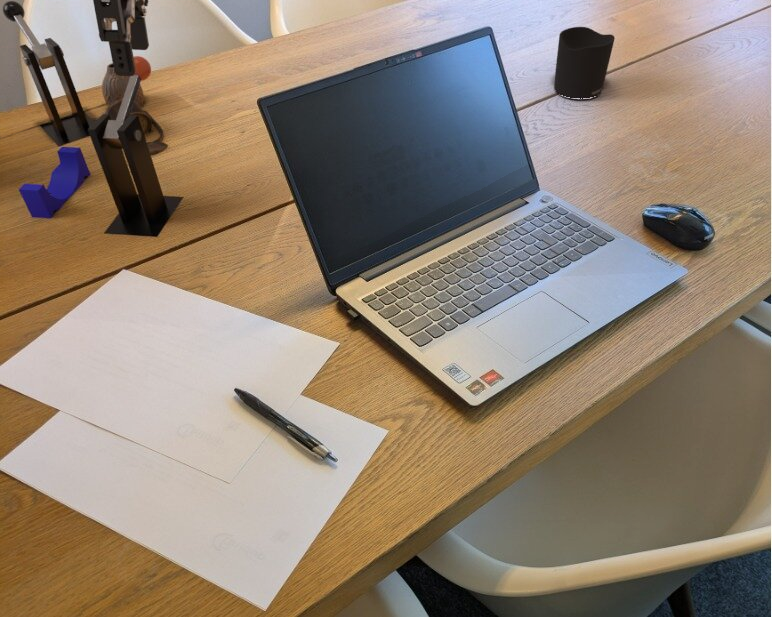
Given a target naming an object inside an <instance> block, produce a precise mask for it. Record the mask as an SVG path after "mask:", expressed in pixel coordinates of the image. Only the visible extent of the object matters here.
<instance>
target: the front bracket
mask: <svg viewBox="0 0 772 617" xmlns="http://www.w3.org/2000/svg"><path fill="white" fill-rule="evenodd" d="M108 120H112V119H111V116H110V114H105V113H102V114H101V115H100V116H99V117H98V118H97V119H96V120H94V122H95V123H94V124H93V125H92V126H91V127H90V128H89V129H88V132H89V135H90V136H89V137H90V140H91V142H92V145H93V148H94V150H95V153H96V156H97V158H98V162H99V164H100V167H101V169H102V172H103V174H104V177H105V180H106V182H107V185H108V188H109V190H110V193H111V195H112V199H113V201H114V203H115V207H116V208H117V212H118V214H117V215H116V216H115V218H114V219H113V220H112V222H111V223H110V224H109V226H108V227H107V228H106V229H105V230H104V232H103V235H104V234H105V235H118V236H119V235H120V236H133V237H148V238H149V237H150V238H158V237H159V235H160V233H161V232H162V231H163V229H164V228H165V226H166V224H168V222H169V220H170V218H171V217H172V216H173V215H174V212H176V210H177V208H178V207H179V205H180V203H181V202H182V201H183V199H184V196H175V195H164V193H163V190H162V187H161V183H160V181H159V177H158V174H157V171H156V168H155V165H154V162H153V158H152V155H150V151H149V148H148V145H147V142H148V141H147V138H146V136H145V132H143V129H142V126H141V123H140V119H139V116H138V115H131V116H130V117H129V118H128V119H127V120H126V121H125V122H124V123H123V124H122V126H121V127H120V128H119V129H118V130H117V133H118V136H119V139H120V142H121V145H122V148H123V149H114V148H111V147H110V146H109V145H108V144H107V142H106V141H105V140H104V139H103V135H104V132H105V129H106V126H107V123H108Z"/></svg>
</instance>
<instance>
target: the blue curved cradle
mask: <svg viewBox="0 0 772 617" xmlns="http://www.w3.org/2000/svg"><path fill="white" fill-rule="evenodd" d="M56 153H57V156H58V159H59V164H58V165H57V166H56V167H55V168H54V169H53V170H52V171H51V173H50V179H49V183H48V185H47V187H46V186H45V184H39V183H37V184H36V183H24V184H23V185H21V186H20V187H19V188H18V192H19V194H20V196H21V198H22V199H23V201H24V204H25V206H26V208H27V210H28V212H29V215H30V216H31V218H37V219H53V217H54V212H55V211H56V212H57V211H59V210H60V209H61V208H62V207H63V206H64V205H65V203H67V202H68V200H69V199H70V198H71V197H72V196H73V195H74V194H75V192H76V191H77V190H78V189H79V188H80V187H81V186H82V185H83V184H84V183H85V178H89V177H90V176H91V172H90V169H89V167H88V164H87V162H86V159H85V157H84V154H83V152H82V149H81V147H74V146H60V148H59V149H58V150H57V151H56Z"/></svg>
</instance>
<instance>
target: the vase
mask: <svg viewBox="0 0 772 617" xmlns="http://www.w3.org/2000/svg"><path fill="white" fill-rule="evenodd" d="M129 79H130V76H118V75H116V74H115V72H114V67H113V62H112V63H109V64H108V65H107V66H106V71H105V75H104V77H103V79H102V83H101V92H102V93H101V94H102V97H103V99H104V102H105V104H106V105H107V108H108V107H109V106H110V104H112V103H113V102H114V101H116V100H119V99H122V98H123V97H124V94H125V91H126V88H127V85H128V82H129ZM142 87H143V86H142V85H141V84H140V85H139V88H138V91H137V94H136V98H135V101H136V102H137V103H138V104H139V105H140V106H141V107H143V106H144V101H145V95H144V90H143V88H142Z"/></svg>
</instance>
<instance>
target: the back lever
mask: <svg viewBox="0 0 772 617" xmlns="http://www.w3.org/2000/svg"><path fill="white" fill-rule="evenodd" d="M2 13H3V15H4V17H5V18H6V19H7V20H8V21H10V22H14V23H16V24H17V26H18V27H19V29H20V30H21V32H22V33H23V35H24V36H25V38H26V39H27V41H28V42H29V44H30V46H31V47H30V49H31V50H32V51H33V52H34V54H35V56H36V59H37V61H38V64H39V66H40V69H41V71H42V70H43V71H44V70H46V69H51V68H55V62H54V58H53V55H52V53H51V52H50V50H49V49H48V47H47V45H46V42H44V43H40V42H39V40H38V39H37V37H36V35H34V32H33V31H32V30H31V28H30V26H29V24H28V23H27V22H26V20H25V19H24V18H25V14H26V13H25V9H24V6H22V4H21V3H19V2H17V1H15V0H8V1H6V2H5V3H3V6H2Z"/></svg>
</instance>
